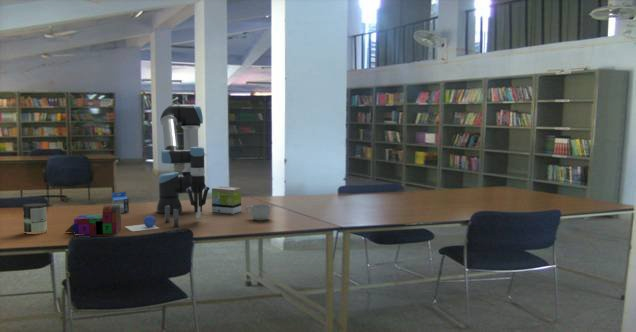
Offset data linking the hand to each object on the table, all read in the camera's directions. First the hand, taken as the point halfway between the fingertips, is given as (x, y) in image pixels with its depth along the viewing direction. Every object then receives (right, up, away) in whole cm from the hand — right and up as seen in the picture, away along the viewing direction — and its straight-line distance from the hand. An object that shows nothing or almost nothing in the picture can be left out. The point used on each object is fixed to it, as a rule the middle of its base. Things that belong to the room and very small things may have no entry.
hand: (198, 217), depth 303 cm
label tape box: (-52, 0, +26) cm, 58 cm away
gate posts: (-12, -3, -8) cm, 15 cm away
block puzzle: (-46, -5, -27) cm, 54 cm away
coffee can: (-74, -5, -30) cm, 80 cm away
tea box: (+11, 0, +30) cm, 32 cm away
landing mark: (-25, -3, -17) cm, 31 cm away
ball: (-22, 0, -16) cm, 27 cm away
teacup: (+32, -2, +7) cm, 33 cm away
